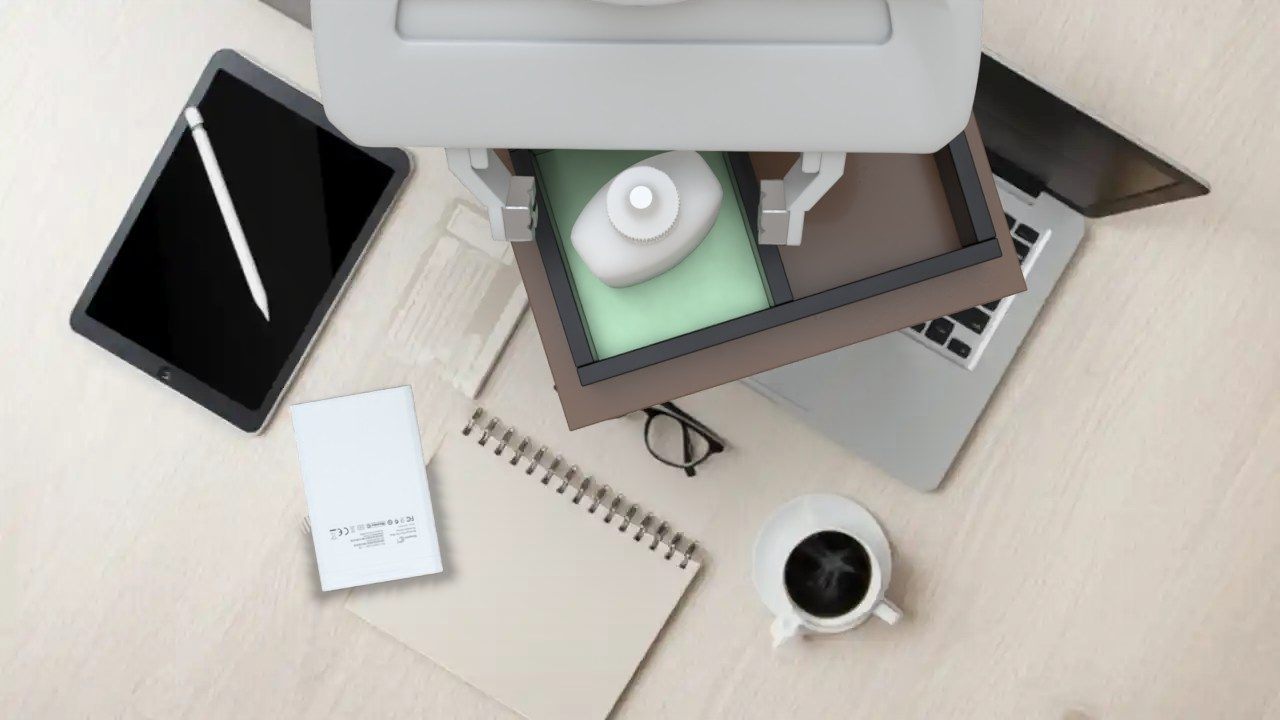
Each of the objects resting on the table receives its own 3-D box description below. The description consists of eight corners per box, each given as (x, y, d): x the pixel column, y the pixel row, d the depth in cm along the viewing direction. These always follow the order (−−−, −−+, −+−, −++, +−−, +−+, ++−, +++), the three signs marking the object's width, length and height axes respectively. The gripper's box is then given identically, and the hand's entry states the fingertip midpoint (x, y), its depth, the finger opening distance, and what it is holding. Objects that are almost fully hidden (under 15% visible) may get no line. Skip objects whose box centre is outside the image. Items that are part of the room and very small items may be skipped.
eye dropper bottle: (580, 187, 46) (543, 135, 34) (714, 173, 46) (725, 116, 34) (590, 291, 46) (557, 277, 34) (724, 278, 46) (738, 258, 34)
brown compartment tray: (475, 120, 47) (458, 102, 44) (922, -24, 46) (943, -55, 43) (572, 429, 48) (563, 437, 44) (1019, 291, 47) (1048, 288, 43)
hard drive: (415, 383, 73) (447, 567, 73) (295, 404, 73) (328, 587, 73) (409, 384, 71) (442, 572, 71) (287, 405, 72) (319, 592, 72)
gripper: (224, -117, 28) (340, 287, 38) (1047, -115, 27) (942, 297, 37) (289, -209, 32) (378, 175, 42) (999, -210, 31) (916, 182, 41)
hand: (646, 232), depth 39 cm, fingers open, 8 cm apart
